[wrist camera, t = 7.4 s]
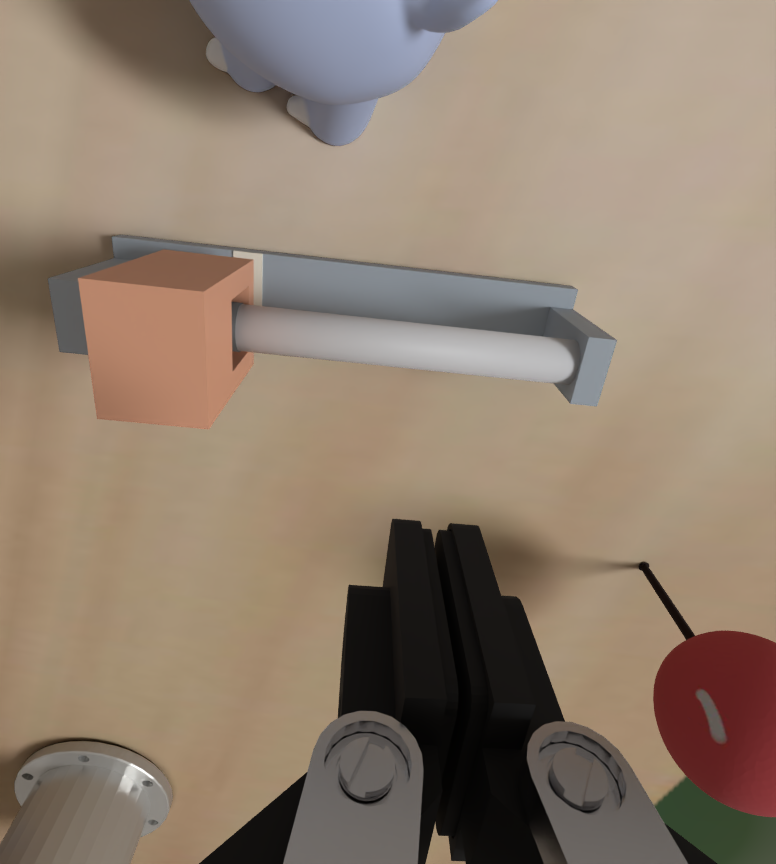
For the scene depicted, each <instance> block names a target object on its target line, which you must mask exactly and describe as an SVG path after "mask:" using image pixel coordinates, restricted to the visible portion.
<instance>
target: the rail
mask: <svg viewBox="0 0 776 864" xmlns="http://www.w3.org/2000/svg"><path fill="white" fill-rule="evenodd" d="M112 244H113V253H114V258H113V259H110V260H106V261H103V262H100V263H96V264H93V265H90V266H87V267H83V268H80V269H77V270H73V271H70V272H67V273H64V274H60V275H57V276H54V277H50V278H48V283H49V289H50V295H51V301H52V308H53V314H54V320H55V326H56V333H57V339H58V345H59V351H60V352H65V353H75V354H85V355H88V348H87V341H86V334H85V326H84V319H83V312H82V305H81V297H80V290H79V283H78V278H80V277H83V276H86V275H89V274H92V273H95V272H98V271H101V270H104V269H107V268H110V267H113V266H116V265H119V264H122V263H125V262H128V261H131V260H134V259H137V258H140V257H143V256H146V255H149V254H152V253H155V252H158V251H161V250H164V249H165V250H174V251H183V252H192V253H200V254H209V255H218V256H227V257H236V258H245V259H253V260H254V305H247V304H243V303H240V302H231V303H232V351H234V352H241V351H245V352H255V353H265V354H274V355H284V356H294V357H303V358H313V359H323V360H332V361H342V362H352V363H361V364H371V365H381V366H390V367H400V368H410V369H419V370H429V371H439V372H448V373H458V374H468V375H477V376H487V377H497V378H506V379H516V380H526V381H536V382H545V383H554V384H555V386H556V387H557V388H558V389H559V391H560V392H561V393H562V394H563V395H564V397H565V398H566V399H567V400H568V401H569V403H570V404H579V405H588V406H597V405H598V401H599V398H600V395H601V391H602V388H603V385H604V382H605V378H606V375H607V372H608V368H609V365H610V362H611V359H612V355H613V352H614V349H615V346H616V342H617V340H616V339H615V338H613V337H612V336H610V335H609V334H607V333H606V332H605V331H603V330H602V329H600V328H599V327H597V326H596V325H595V324H593V323H592V322H590V321H589V320H587V319H586V318H585V317H583V316H582V315H580V314H579V313H577V312H576V311H574V310H573V307H574V303H575V299H576V295H577V292H578V289H576V288H574V287H573V286H567V285H559V284H550V283H541V282H532V281H524V280H515V279H506V278H497V277H489V276H480V275H471V274H462V273H454V272H445V271H436V270H427V269H418V268H410V267H401V266H392V265H383V264H375V263H366V262H357V261H348V260H340V259H331V258H322V257H313V256H305V255H296V254H287V253H278V252H270V251H261V250H252V249H243V248H235V247H226V246H217V245H208V244H199V243H191V242H182V241H173V240H164V239H156V238H147V237H138V236H129V235H117V236H112Z"/></svg>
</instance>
